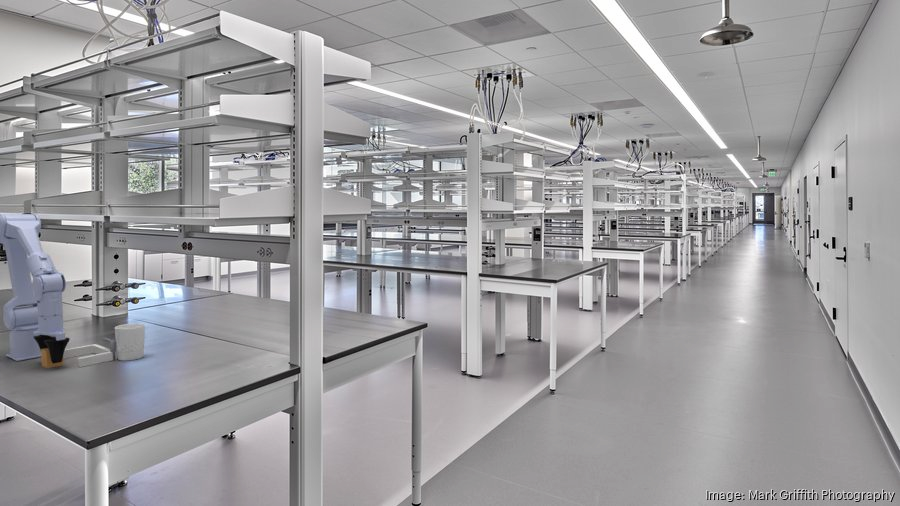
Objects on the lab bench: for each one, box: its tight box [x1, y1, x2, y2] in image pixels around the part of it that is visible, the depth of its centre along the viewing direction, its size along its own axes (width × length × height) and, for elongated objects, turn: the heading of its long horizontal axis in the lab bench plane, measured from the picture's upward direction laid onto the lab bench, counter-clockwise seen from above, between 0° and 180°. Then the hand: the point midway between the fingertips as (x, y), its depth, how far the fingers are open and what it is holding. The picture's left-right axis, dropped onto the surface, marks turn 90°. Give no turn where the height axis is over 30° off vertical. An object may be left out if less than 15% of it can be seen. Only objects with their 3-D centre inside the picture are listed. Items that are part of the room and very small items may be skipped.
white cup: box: [114, 322, 146, 362], centre depth 155 cm, size 8×8×10 cm
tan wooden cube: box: [40, 348, 65, 369], centre depth 147 cm, size 4×4×5 cm
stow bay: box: [63, 336, 117, 368], centre depth 153 cm, size 14×10×6 cm
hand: (52, 360), depth 147 cm, fingers open, 6 cm apart
